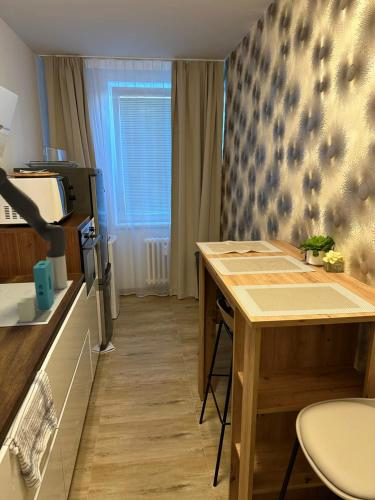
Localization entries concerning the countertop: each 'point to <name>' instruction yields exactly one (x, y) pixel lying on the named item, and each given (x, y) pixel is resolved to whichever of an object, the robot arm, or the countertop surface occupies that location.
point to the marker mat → (39, 316)
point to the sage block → (26, 309)
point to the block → (44, 284)
